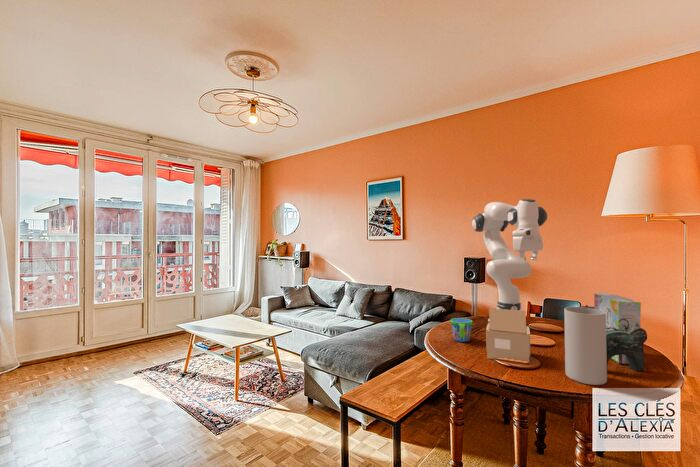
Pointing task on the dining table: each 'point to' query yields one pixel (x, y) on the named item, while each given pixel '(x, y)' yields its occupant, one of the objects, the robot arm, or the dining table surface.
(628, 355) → the game controller
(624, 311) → the snack box
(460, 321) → the snack cup
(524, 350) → the carton
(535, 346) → the dining table surface
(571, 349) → the cylinder vase
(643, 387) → the dining table surface
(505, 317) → the flap
